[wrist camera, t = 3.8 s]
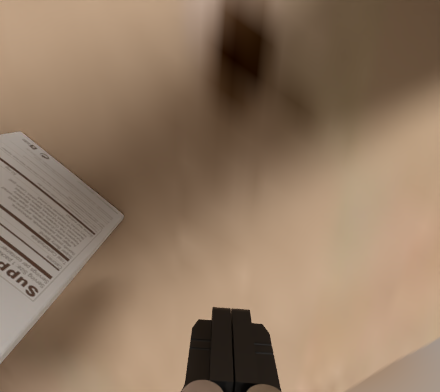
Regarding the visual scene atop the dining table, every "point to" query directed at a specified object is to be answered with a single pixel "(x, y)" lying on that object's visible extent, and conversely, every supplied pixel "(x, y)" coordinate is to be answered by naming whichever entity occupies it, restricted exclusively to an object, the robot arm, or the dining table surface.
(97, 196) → the supplement box
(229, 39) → the dining table surface
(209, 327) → the robot arm
